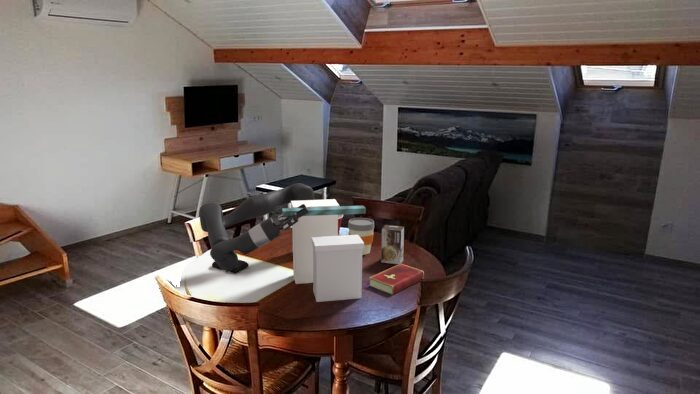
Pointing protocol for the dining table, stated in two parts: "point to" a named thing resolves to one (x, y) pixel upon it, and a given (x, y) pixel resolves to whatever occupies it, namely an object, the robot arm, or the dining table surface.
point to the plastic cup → (339, 222)
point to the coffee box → (392, 244)
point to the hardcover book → (396, 278)
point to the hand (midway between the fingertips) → (306, 208)
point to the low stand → (337, 267)
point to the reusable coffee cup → (362, 231)
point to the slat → (326, 210)
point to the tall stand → (310, 237)
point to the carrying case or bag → (239, 267)
